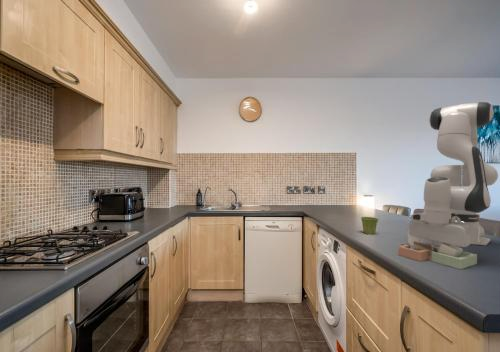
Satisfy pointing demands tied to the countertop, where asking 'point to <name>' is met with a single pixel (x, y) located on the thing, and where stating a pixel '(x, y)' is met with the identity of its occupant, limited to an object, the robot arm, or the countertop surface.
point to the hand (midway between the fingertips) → (436, 252)
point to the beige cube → (413, 239)
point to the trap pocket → (412, 253)
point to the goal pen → (455, 259)
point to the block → (450, 250)
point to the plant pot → (369, 224)
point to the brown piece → (423, 248)
